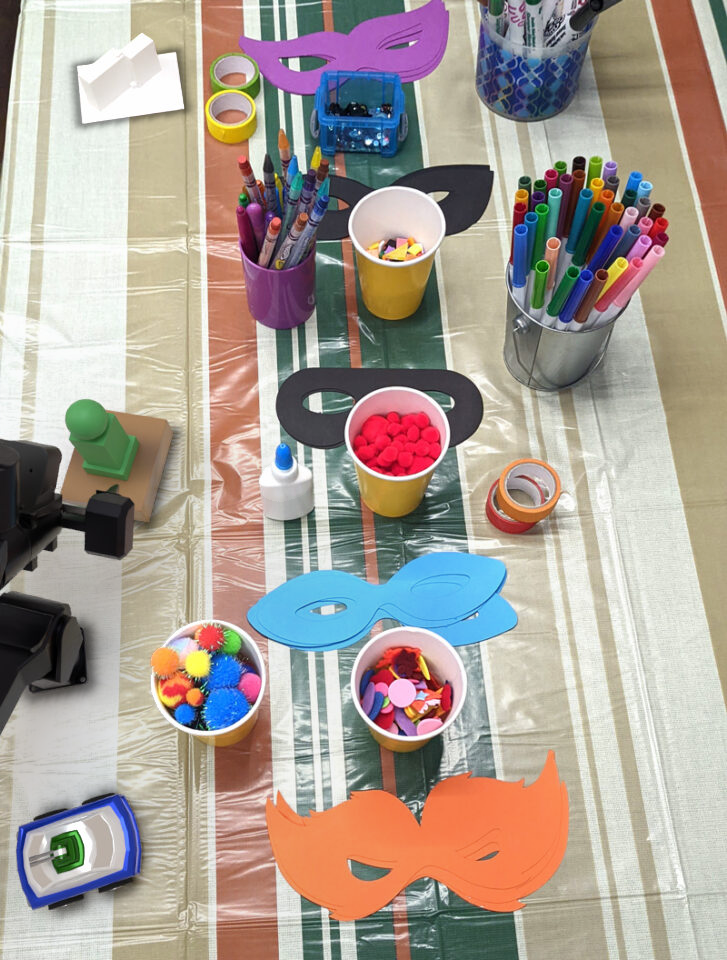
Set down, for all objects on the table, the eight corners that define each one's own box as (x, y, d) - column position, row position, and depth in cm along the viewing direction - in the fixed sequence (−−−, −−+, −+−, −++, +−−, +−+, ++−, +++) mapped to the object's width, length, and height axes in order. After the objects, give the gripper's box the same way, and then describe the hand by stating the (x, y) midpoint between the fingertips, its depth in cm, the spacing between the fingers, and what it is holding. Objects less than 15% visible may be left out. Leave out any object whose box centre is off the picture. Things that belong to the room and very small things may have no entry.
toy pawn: (127, 481, 104) (95, 436, 92) (86, 473, 105) (50, 427, 92) (139, 443, 106) (110, 394, 94) (99, 435, 106) (65, 385, 94)
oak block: (149, 522, 106) (141, 511, 103) (68, 509, 107) (58, 498, 103) (173, 432, 111) (166, 419, 107) (96, 420, 111) (87, 406, 108)
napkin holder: (82, 124, 128) (70, 94, 123) (76, 66, 132) (63, 34, 127) (185, 108, 129) (177, 77, 124) (175, 51, 134) (167, 18, 128)
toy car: (24, 823, 94) (-12, 823, 86) (134, 786, 96) (110, 783, 87) (39, 915, 91) (4, 925, 82) (153, 876, 92) (130, 882, 84)
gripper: (101, 485, 77) (163, 427, 92) (-99, 446, 79) (-7, 394, 93) (98, 594, 82) (158, 522, 96) (-92, 554, 83) (-5, 489, 98)
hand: (76, 480), depth 96 cm, fingers open, 9 cm apart
